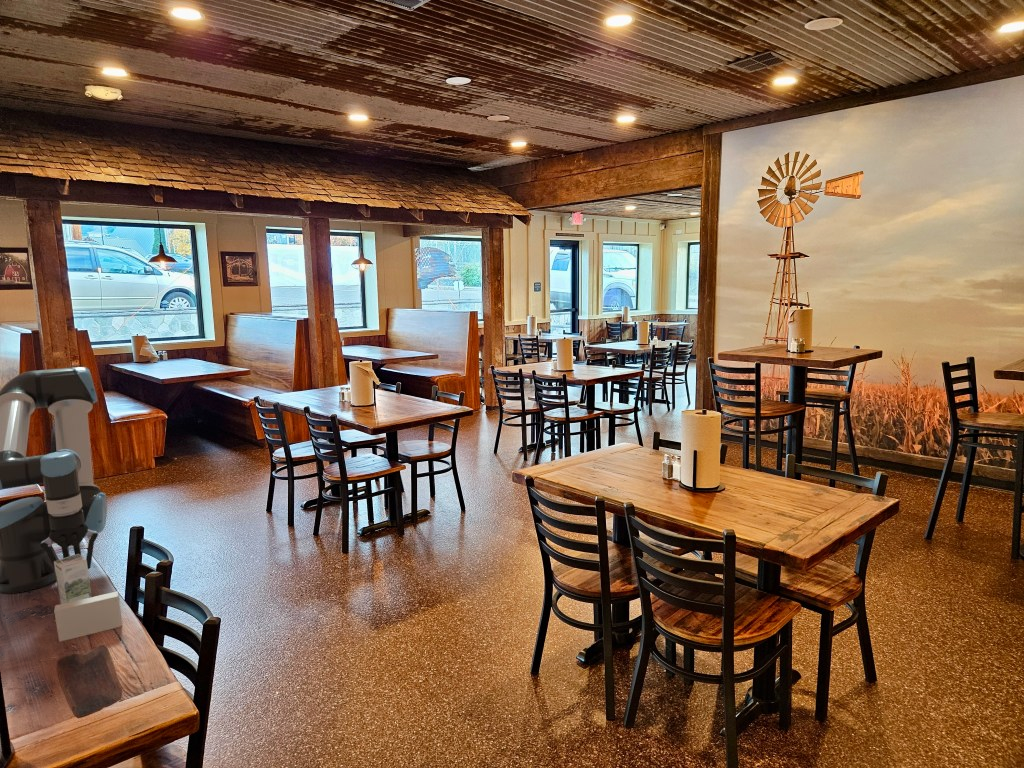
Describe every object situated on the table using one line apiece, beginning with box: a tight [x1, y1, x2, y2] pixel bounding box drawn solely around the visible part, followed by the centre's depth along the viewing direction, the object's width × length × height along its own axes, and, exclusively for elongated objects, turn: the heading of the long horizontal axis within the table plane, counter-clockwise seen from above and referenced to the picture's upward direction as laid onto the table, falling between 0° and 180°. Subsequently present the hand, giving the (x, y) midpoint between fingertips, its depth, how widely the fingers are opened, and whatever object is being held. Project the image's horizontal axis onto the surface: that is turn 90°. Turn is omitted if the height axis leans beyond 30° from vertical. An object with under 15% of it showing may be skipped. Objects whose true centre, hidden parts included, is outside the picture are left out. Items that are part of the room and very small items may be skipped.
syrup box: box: [54, 554, 93, 604], centre depth 171 cm, size 6×6×14 cm
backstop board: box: [53, 590, 123, 643], centre depth 162 cm, size 3×13×8 cm, turn 120°
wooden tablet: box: [56, 644, 123, 718], centre depth 143 cm, size 26×2×10 cm
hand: (78, 595), depth 178 cm, fingers closed
